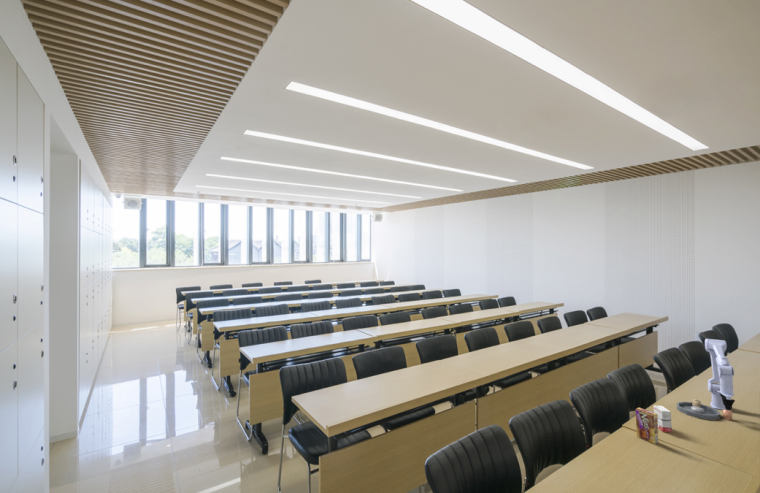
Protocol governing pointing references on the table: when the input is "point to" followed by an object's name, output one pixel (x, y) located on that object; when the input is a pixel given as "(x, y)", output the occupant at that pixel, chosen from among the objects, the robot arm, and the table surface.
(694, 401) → the birch bead
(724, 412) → the terracotta bead
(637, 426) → the candy box
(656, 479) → the table surface
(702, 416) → the groove tray
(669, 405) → the table surface
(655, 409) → the ink box
